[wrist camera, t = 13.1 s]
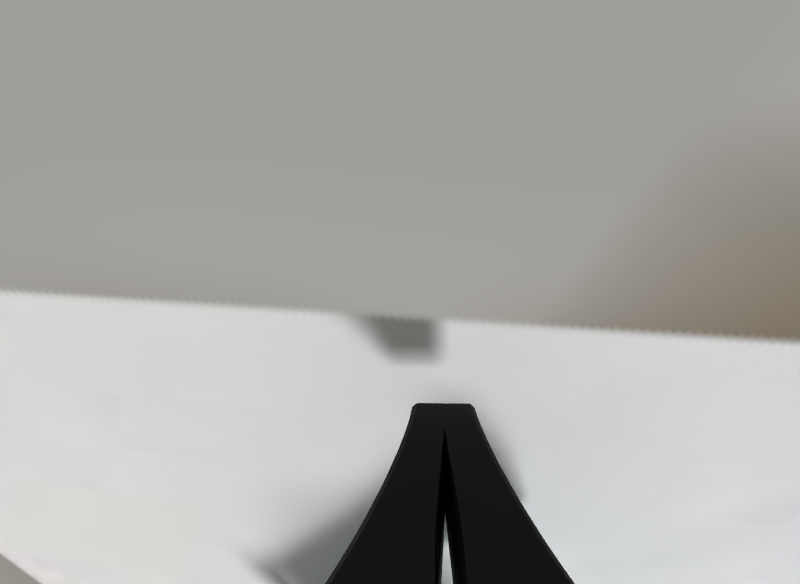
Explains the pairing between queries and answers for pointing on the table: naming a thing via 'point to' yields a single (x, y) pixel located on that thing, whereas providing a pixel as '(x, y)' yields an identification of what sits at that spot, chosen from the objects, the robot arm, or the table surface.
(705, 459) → the table surface
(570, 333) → the table surface
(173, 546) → the table surface
